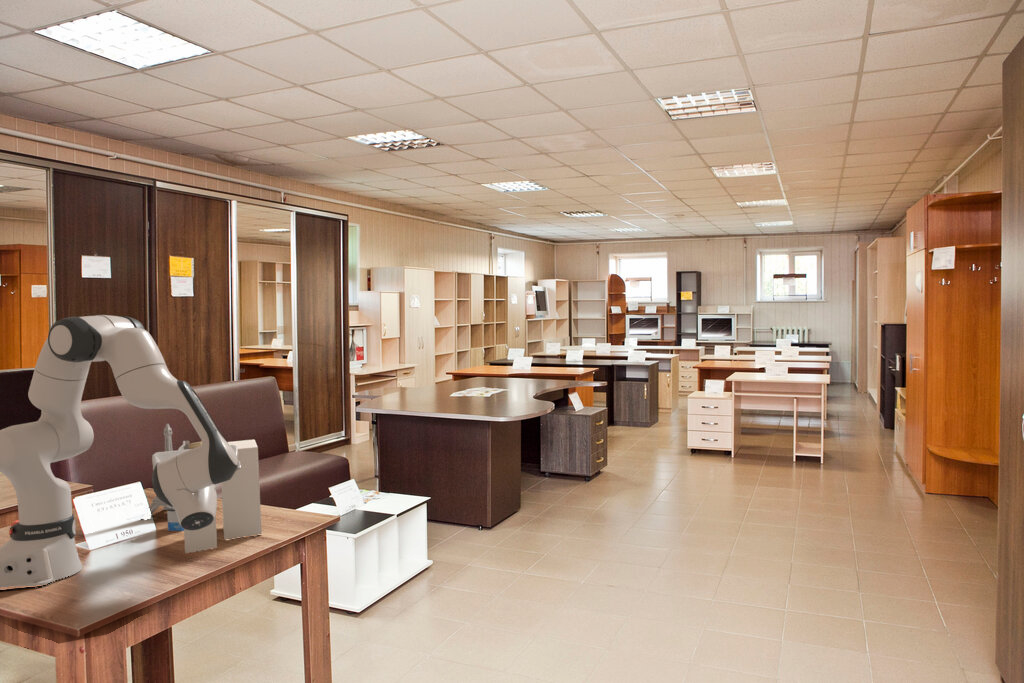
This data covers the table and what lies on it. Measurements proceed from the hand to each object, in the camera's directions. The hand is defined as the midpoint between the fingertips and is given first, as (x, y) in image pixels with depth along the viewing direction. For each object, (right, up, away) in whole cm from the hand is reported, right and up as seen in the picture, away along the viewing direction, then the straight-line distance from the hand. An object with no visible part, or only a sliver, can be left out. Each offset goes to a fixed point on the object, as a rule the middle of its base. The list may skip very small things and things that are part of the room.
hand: (195, 441), depth 180 cm
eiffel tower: (-27, -30, +42) cm, 59 cm away
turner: (-2, -4, +7) cm, 8 cm away
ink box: (-17, -31, +28) cm, 45 cm away
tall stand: (+4, -30, +22) cm, 37 cm away
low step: (-4, -31, +12) cm, 33 cm away
